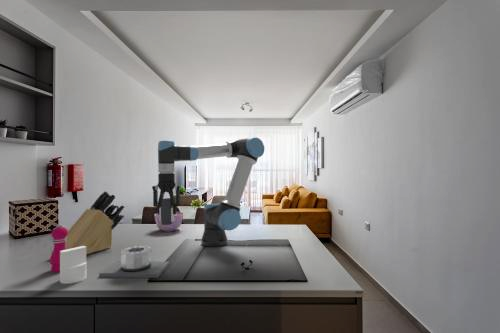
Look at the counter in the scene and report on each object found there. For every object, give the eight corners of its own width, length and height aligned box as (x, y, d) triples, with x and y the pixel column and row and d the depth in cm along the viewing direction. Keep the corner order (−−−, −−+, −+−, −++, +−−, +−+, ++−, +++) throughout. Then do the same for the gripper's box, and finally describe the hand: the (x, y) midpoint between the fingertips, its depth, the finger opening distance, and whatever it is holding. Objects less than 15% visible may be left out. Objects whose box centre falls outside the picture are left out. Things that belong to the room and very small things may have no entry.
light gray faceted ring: (155, 262, 128) (155, 245, 128) (144, 272, 116) (144, 254, 116) (129, 262, 128) (129, 245, 128) (115, 272, 116) (115, 253, 116)
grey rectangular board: (169, 264, 129) (169, 261, 129) (157, 277, 114) (157, 274, 114) (118, 264, 130) (118, 261, 130) (99, 276, 115) (99, 273, 115)
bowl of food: (148, 233, 192) (148, 215, 192) (162, 226, 212) (162, 211, 212) (176, 234, 189) (176, 216, 189) (187, 227, 209) (187, 212, 209)
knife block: (126, 243, 165) (126, 190, 165) (64, 262, 133) (64, 196, 133) (112, 241, 170) (112, 190, 170) (50, 259, 138) (50, 195, 138)
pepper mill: (56, 266, 127) (55, 222, 127) (73, 266, 128) (72, 221, 128) (45, 272, 120) (45, 225, 120) (63, 272, 120) (63, 225, 121)
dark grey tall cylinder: (173, 222, 139) (173, 198, 139) (170, 224, 134) (170, 199, 134) (163, 222, 140) (163, 198, 140) (160, 224, 135) (159, 199, 135)
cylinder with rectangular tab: (67, 285, 107) (67, 253, 107) (55, 280, 112) (55, 250, 112) (91, 277, 115) (91, 247, 115) (79, 273, 119) (79, 244, 119)
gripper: (144, 173, 134) (145, 222, 134) (182, 172, 133) (183, 222, 133) (151, 172, 141) (151, 219, 141) (187, 172, 140) (187, 219, 140)
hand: (167, 221), depth 137 cm, fingers closed on dark grey tall cylinder, 5 cm apart
